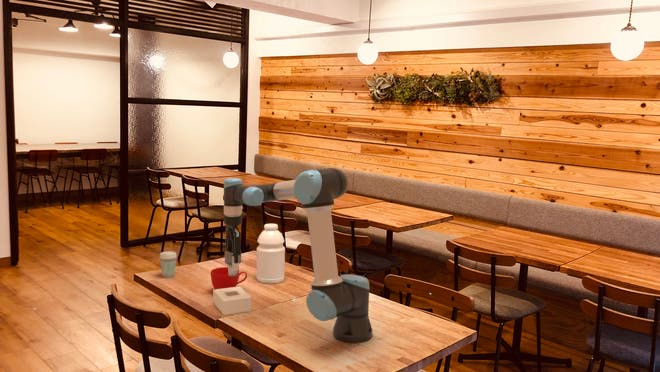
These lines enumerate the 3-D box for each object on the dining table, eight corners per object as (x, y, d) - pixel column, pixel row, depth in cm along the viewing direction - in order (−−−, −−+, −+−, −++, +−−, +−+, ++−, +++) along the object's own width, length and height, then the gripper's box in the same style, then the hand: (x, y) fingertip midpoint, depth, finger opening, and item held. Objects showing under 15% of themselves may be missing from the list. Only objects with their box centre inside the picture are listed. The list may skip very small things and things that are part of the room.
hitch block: (251, 311, 244) (251, 297, 243) (223, 315, 239) (223, 301, 238) (239, 299, 258) (239, 286, 257) (213, 303, 253) (213, 289, 252)
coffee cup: (159, 274, 292) (159, 251, 291) (176, 273, 295) (176, 250, 293) (159, 279, 284) (159, 255, 282) (177, 278, 287) (177, 254, 285)
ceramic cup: (250, 293, 266) (250, 272, 265) (213, 297, 260) (213, 276, 258) (243, 285, 278) (243, 265, 277) (208, 288, 272) (208, 268, 270)
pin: (243, 276, 245) (243, 253, 244) (227, 277, 242) (227, 254, 241) (238, 271, 252) (238, 249, 250) (222, 273, 248) (222, 250, 247)
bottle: (259, 275, 295) (259, 221, 291) (286, 276, 294) (286, 222, 290) (254, 283, 281) (254, 227, 277) (282, 284, 280) (283, 228, 276)
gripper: (249, 219, 236) (248, 273, 239) (234, 210, 254) (234, 260, 257) (231, 220, 233) (231, 275, 236) (217, 211, 250) (218, 262, 254)
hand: (232, 267), depth 246 cm, fingers closed on pin, 7 cm apart
